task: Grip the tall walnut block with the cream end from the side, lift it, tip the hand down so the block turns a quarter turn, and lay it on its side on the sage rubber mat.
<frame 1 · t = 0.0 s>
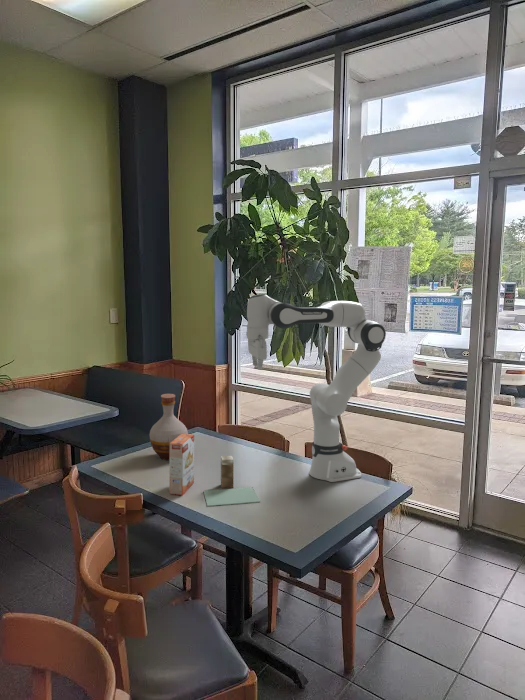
hand: (257, 367, 216), 48 cm above the table, tool pointing down, fingers open, 8 cm apart
cracker box: (182, 488, 212), on the table
rubber mat: (231, 496, 204), on the table
jug: (168, 456, 250), on the table
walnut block: (227, 486, 215), on the table
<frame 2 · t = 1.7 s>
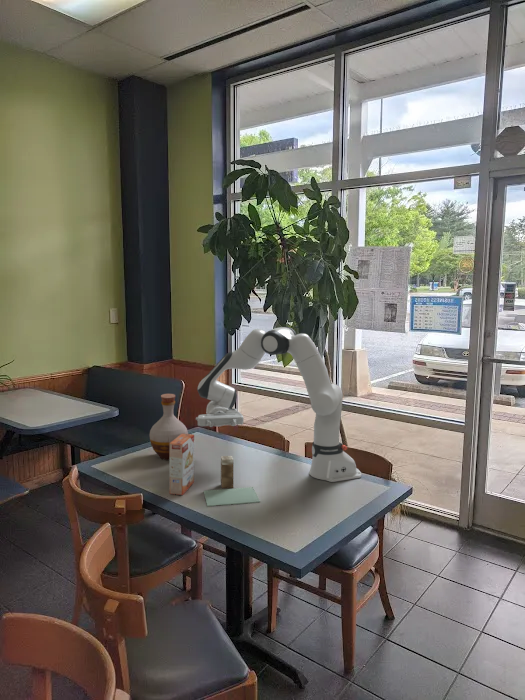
hand: (222, 424, 224), 22 cm above the table, tool horizontal, fingers open, 8 cm apart
nothing on the table moved.
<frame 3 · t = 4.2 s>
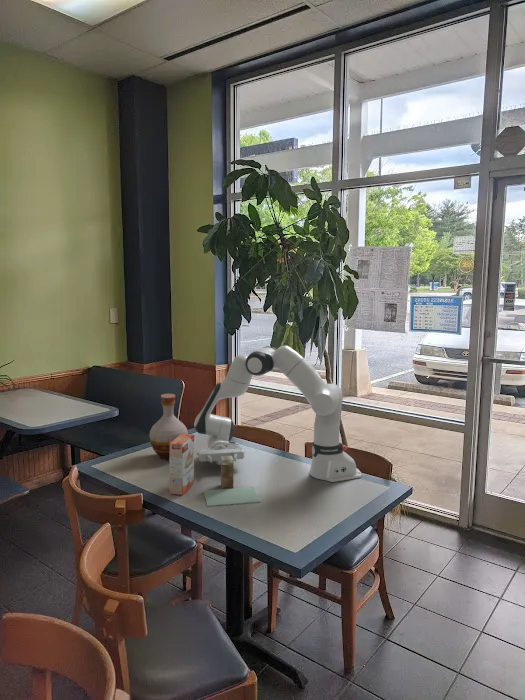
hand: (223, 460, 225), 7 cm above the table, tool horizontal, fingers open, 8 cm apart
nothing on the table moved.
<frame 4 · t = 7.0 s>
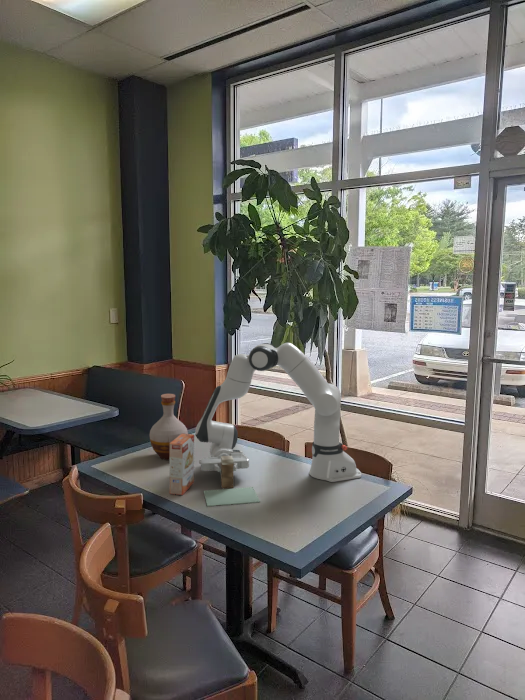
hand: (227, 469, 213), 7 cm above the table, tool horizontal, fingers closed on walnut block, 4 cm apart
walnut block: (227, 486, 215), on the table, touching gripper
everything else where it was.
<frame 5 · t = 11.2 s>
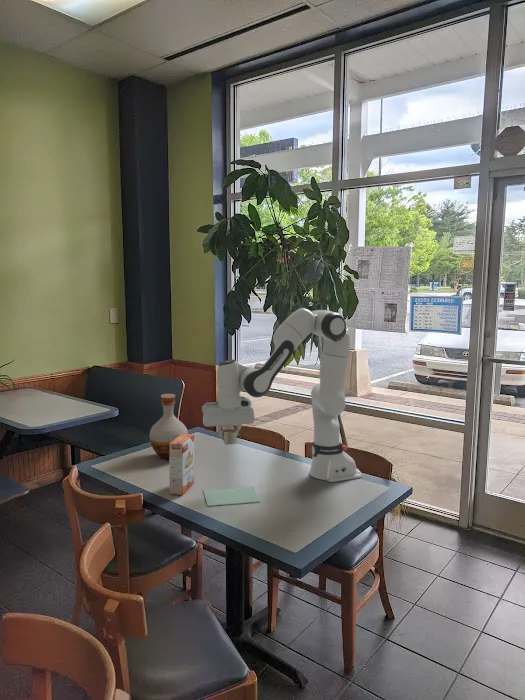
hand: (229, 435, 207), 23 cm above the table, tool pointing down, fingers closed on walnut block, 4 cm apart
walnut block: (226, 430, 214), point 23 cm above the table, tilted 90°, touching gripper
everything else where it was.
when the fingers open (4 cm above the table, at t = 14.5 s): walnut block drops 1 cm, resting on rubber mat.
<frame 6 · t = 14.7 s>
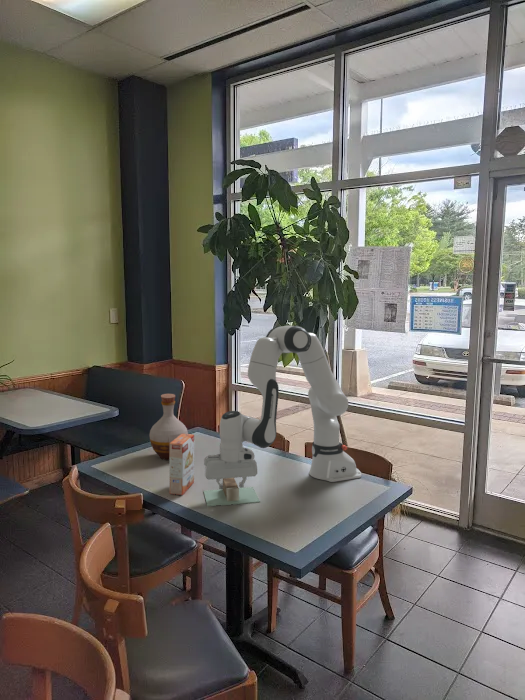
hand: (231, 488, 203), 4 cm above the table, tool pointing down, fingers open, 7 cm apart
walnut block: (228, 483, 211), point 3 cm above the table, tilted 90°, touching rubber mat
everything else where it was.
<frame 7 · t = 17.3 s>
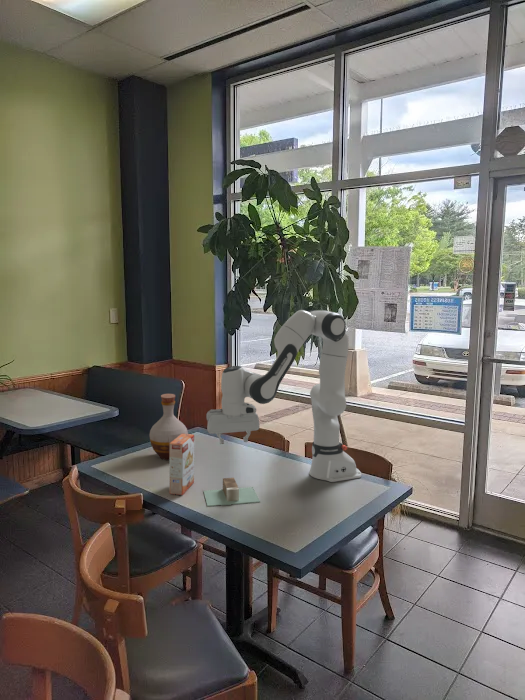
hand: (233, 442, 205), 21 cm above the table, tool pointing down, fingers open, 8 cm apart
nothing on the table moved.
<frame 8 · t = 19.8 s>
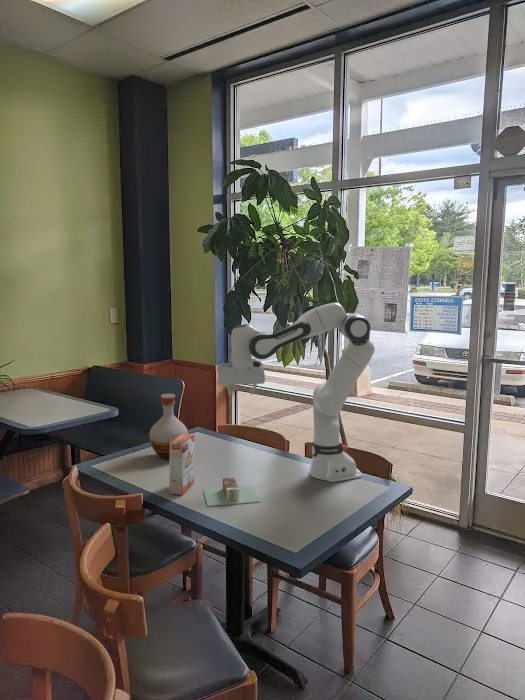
hand: (241, 394, 224), 35 cm above the table, tool pointing down, fingers open, 8 cm apart
nothing on the table moved.
at the end: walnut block tilted 90°; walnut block inside the target area (5.2 cm from its centre), point 2.6 cm above the table; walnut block touching rubber mat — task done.
